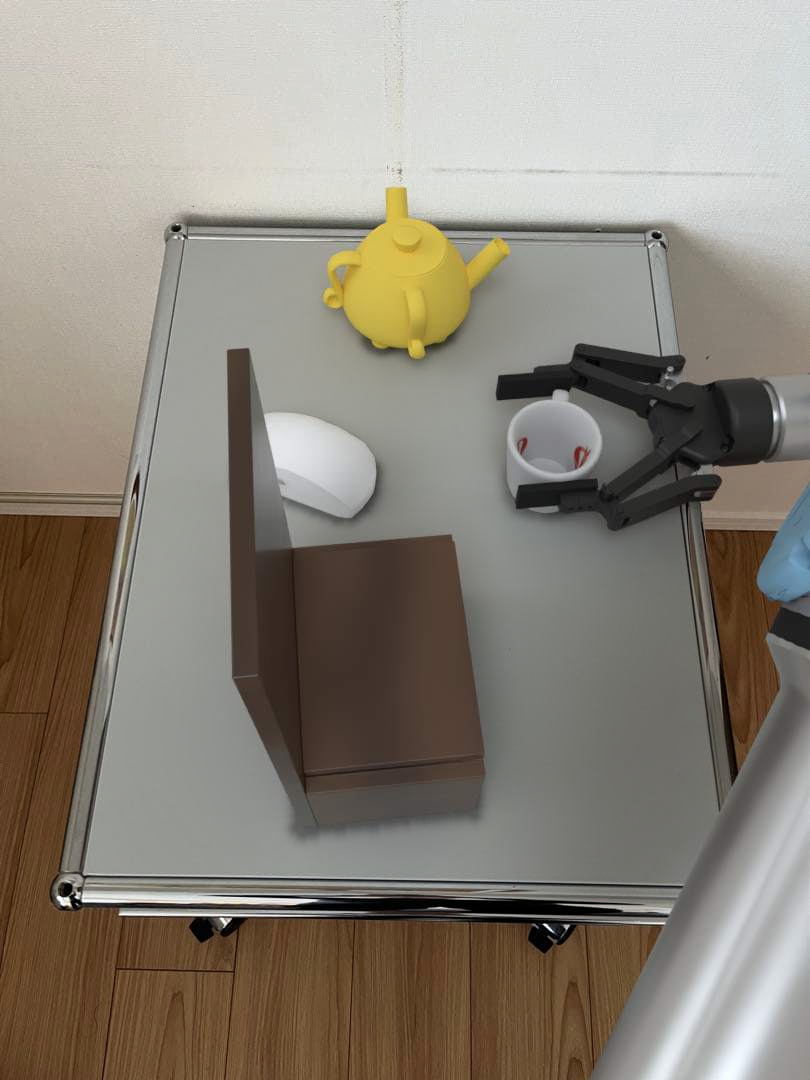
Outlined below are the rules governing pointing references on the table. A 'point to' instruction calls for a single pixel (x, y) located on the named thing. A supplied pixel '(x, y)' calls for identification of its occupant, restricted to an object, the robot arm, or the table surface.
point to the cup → (551, 444)
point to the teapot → (407, 280)
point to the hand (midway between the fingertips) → (506, 440)
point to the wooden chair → (346, 650)
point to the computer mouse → (320, 464)
